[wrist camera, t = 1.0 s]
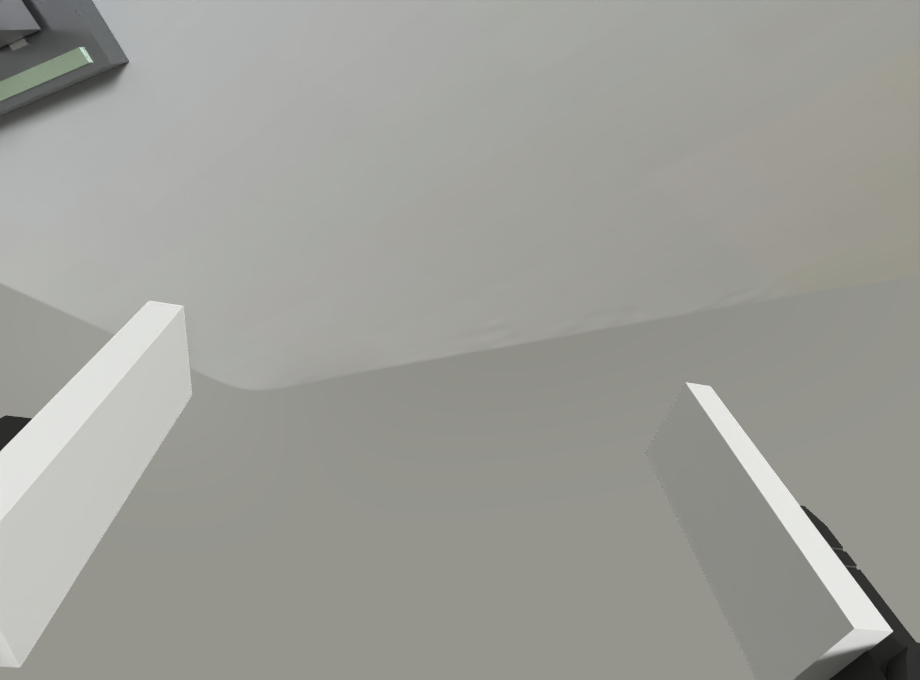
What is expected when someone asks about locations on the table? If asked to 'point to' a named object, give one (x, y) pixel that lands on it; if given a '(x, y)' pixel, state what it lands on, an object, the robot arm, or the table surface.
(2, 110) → the panel
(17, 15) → the block
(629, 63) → the table surface
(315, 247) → the table surface
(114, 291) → the table surface
